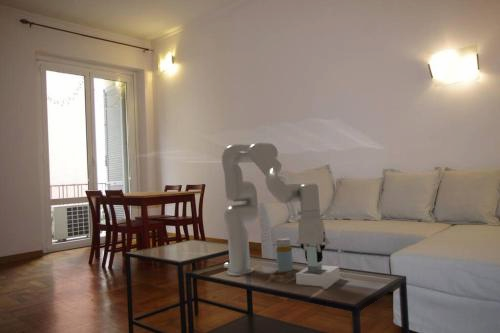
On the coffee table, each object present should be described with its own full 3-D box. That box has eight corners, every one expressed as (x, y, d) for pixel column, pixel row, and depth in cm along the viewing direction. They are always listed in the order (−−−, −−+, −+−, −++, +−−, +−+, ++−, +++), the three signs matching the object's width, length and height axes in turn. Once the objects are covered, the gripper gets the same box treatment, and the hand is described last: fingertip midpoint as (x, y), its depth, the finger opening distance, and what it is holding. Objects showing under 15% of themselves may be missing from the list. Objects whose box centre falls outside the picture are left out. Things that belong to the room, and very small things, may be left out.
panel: (296, 286, 152) (295, 273, 153) (312, 276, 166) (311, 264, 166) (325, 289, 146) (324, 275, 146) (340, 278, 160) (339, 265, 160)
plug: (308, 272, 153) (306, 246, 153) (312, 269, 156) (310, 244, 157) (317, 272, 151) (315, 246, 151) (321, 270, 154) (319, 245, 155)
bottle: (292, 273, 173) (290, 240, 174) (276, 274, 175) (274, 240, 175) (293, 270, 180) (291, 237, 181) (278, 270, 181) (276, 238, 182)
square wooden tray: (265, 283, 160) (265, 275, 160) (274, 278, 167) (274, 270, 167) (287, 285, 155) (286, 276, 155) (296, 280, 161) (295, 272, 161)
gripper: (287, 216, 156) (290, 262, 155) (327, 215, 147) (331, 264, 146) (295, 214, 162) (298, 258, 161) (334, 213, 153) (337, 260, 153)
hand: (314, 260), depth 154 cm, fingers closed on plug, 4 cm apart
